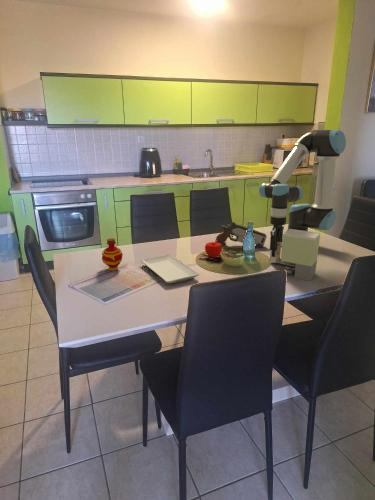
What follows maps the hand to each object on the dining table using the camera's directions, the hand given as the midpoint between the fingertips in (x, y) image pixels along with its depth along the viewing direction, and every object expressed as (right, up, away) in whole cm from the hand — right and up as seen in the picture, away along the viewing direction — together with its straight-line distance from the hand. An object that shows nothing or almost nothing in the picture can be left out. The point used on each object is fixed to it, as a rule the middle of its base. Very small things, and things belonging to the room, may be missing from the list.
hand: (274, 260), depth 175 cm
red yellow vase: (-81, -4, -6) cm, 82 cm away
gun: (-13, +8, +28) cm, 32 cm away
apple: (-31, +1, +9) cm, 32 cm away
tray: (-54, -6, -11) cm, 55 cm away
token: (+4, -6, -12) cm, 14 cm away
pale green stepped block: (+7, -6, -14) cm, 17 cm away
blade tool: (+5, -1, -3) cm, 6 cm away
